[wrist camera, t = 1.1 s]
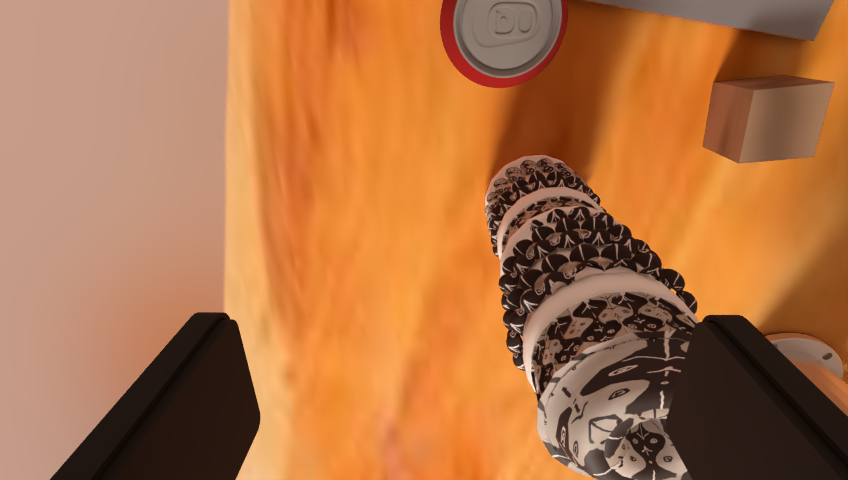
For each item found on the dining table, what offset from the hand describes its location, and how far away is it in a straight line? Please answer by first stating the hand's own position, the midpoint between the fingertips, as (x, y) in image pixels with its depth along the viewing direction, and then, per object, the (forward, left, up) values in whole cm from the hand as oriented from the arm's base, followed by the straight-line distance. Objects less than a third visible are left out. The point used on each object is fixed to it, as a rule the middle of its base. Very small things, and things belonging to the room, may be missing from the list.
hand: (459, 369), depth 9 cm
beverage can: (-2, -7, -30) cm, 30 cm away
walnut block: (-23, -4, -29) cm, 37 cm away
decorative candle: (-9, +6, -30) cm, 31 cm away
